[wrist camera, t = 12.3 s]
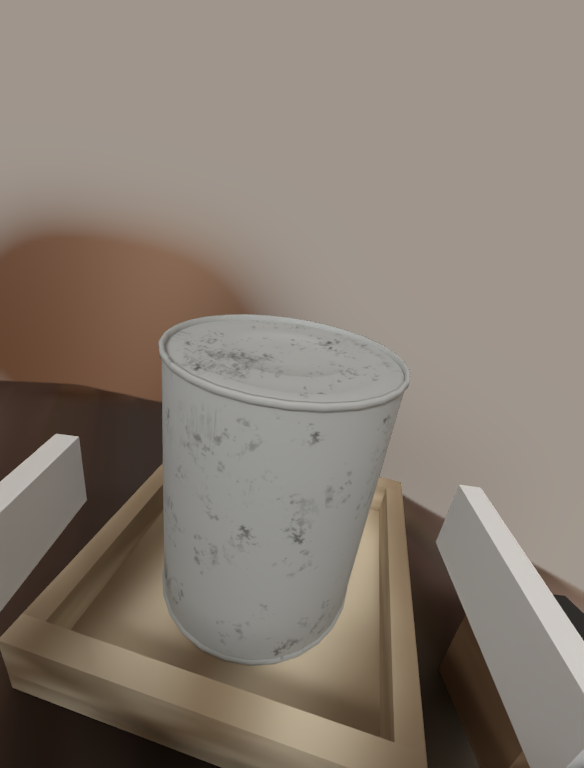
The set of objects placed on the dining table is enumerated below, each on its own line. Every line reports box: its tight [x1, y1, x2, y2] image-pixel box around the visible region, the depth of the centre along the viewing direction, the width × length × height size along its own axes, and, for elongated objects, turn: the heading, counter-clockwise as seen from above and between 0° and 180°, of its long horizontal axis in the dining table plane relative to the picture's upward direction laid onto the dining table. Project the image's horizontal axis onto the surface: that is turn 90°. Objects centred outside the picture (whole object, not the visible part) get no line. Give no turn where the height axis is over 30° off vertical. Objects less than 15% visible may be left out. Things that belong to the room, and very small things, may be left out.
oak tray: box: [0, 463, 427, 768], centre depth 19 cm, size 15×15×3 cm
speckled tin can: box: [159, 314, 410, 666], centre depth 17 cm, size 10×10×12 cm
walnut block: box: [438, 614, 530, 768], centre depth 15 cm, size 4×4×4 cm
